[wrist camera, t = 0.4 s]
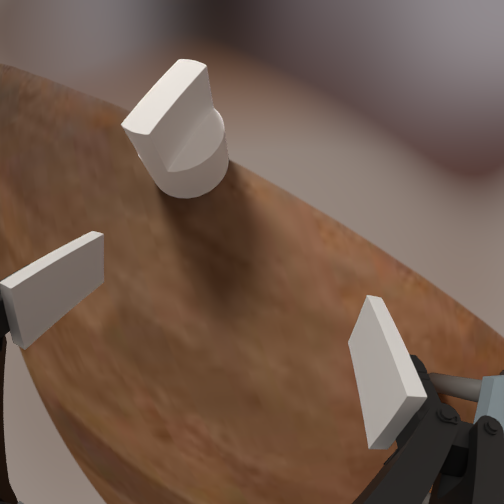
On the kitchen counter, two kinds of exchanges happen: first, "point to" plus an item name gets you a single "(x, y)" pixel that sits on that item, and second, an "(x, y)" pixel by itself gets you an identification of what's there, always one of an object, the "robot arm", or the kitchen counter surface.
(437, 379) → the pale blue square-topped fixture
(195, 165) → the base with upright slab
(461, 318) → the kitchen counter surface
